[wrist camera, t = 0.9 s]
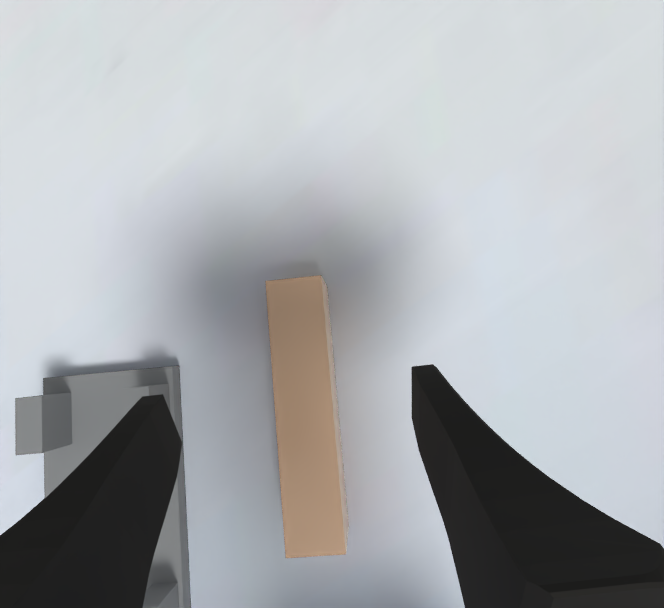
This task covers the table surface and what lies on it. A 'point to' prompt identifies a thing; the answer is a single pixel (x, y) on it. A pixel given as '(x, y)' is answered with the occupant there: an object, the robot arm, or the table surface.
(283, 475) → the light brown rectangular bar
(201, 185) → the table surface
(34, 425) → the plate with corner studs
